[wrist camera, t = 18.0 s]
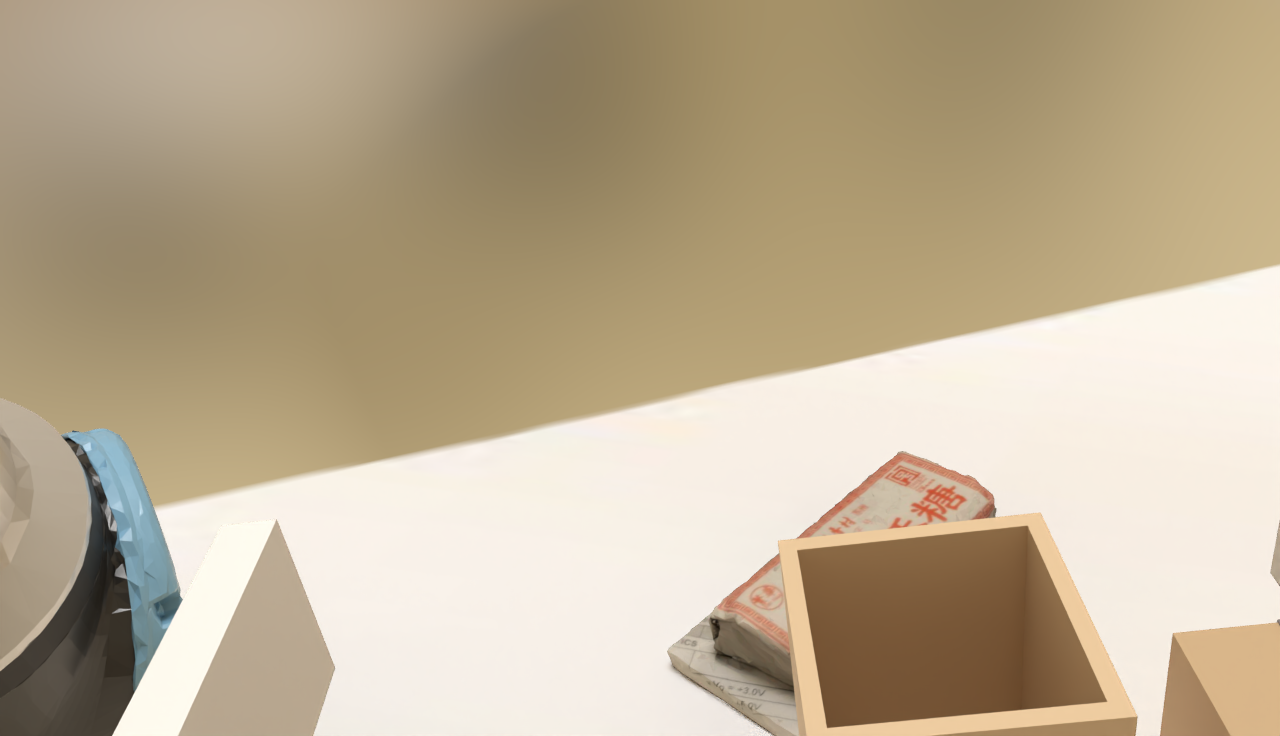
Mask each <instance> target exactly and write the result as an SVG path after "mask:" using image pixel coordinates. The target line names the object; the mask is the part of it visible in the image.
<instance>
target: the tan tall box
mask: <svg viewBox="0 0 1280 736" xmlns="http://www.w3.org/2000/svg"><path fill="white" fill-rule="evenodd" d="M778 546H779V555H780V564H781V573H782V583H783V592H784V601H785V610H786V619H787V628H788V638H789V647H790V656H791V665H792V674H793V684H794V693H795V702H796V711H797V720H798V729H799V736H1135V735H1136V726H1137V715H1136V712H1135V710H1134V708H1133V706H1132V704H1131V702H1130V700H1129V698H1128V696H1127V694H1126V691H1125V689H1124V687H1123V685H1122V683H1121V681H1120V679H1119V677H1118V675H1117V672H1116V670H1115V668H1114V666H1113V664H1112V662H1111V660H1110V658H1109V656H1108V654H1107V651H1106V649H1105V647H1104V645H1103V643H1102V641H1101V639H1100V637H1099V635H1098V632H1097V630H1096V628H1095V626H1094V624H1093V622H1092V620H1091V618H1090V616H1089V614H1088V611H1087V609H1086V607H1085V605H1084V603H1083V601H1082V599H1081V597H1080V595H1079V593H1078V590H1077V588H1076V586H1075V584H1074V582H1073V580H1072V578H1071V576H1070V574H1069V571H1068V569H1067V567H1066V565H1065V563H1064V561H1063V559H1062V557H1061V555H1060V553H1059V550H1058V548H1057V546H1056V544H1055V542H1054V540H1053V538H1052V536H1051V534H1050V531H1049V529H1048V527H1047V525H1046V523H1045V521H1044V519H1043V517H1042V515H1041V513H1032V514H1023V515H1013V516H1004V517H995V518H985V519H976V520H967V521H957V522H948V523H939V524H930V525H920V526H911V527H902V528H892V529H883V530H874V531H864V532H855V533H846V534H836V535H827V536H818V537H809V538H799V539H790V540H781V541H778Z"/></svg>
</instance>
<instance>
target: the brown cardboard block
mask: <svg viewBox="0 0 1280 736" xmlns="http://www.w3.org/2000/svg"><path fill="white" fill-rule="evenodd" d="M1277 622H1278V623H1269V624H1259V625H1249V626H1240V627H1230V628H1220V629H1210V630H1200V631H1190V632H1180V633H1173V637H1172V645H1171V653H1170V661H1169V668H1168V676H1167V684H1166V692H1165V700H1164V708H1163V716H1162V724H1161V732H1160V736H1280V619H1279V620H1277Z"/></svg>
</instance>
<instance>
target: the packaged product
mask: <svg viewBox="0 0 1280 736" xmlns="http://www.w3.org/2000/svg"><path fill="white" fill-rule="evenodd" d="M995 513H996V508H995V506H994V497H993V495H992V494H991V493H990V492H989V491H988V490H987V489H985V488H984V487H982V486H981V485H980V484H979V483H978V482H977V480H976V479H975V478H973V477H971V476H969V475H967V476H964V475H961V474H959V473H958V472H956V471H953V470H948V469H946V468H944V467H942V466H940V465H938V464H937V463H933V462H931V461H929V460H927V459H923V458H920V457H917V456H914V455H912V454H909V453H907V452H903V451H901V452H898V453H897V455H896V456H894V458H893V459H891V460H890V461H888V462H887V463H886V464H885V465H883V466H882V467H880V468H879V469H878V470H877V471H876V472H875V473H874V474H872V475H870V476H868V478H867V479H866V480H865V481H864V482H863V483H862V484H861V485H860V486H859V487H857V488H856V489H854V490H853V491H852V492H849V494H848V495H847V496H846V497H845V498H844V499H843V500H842V501H841V502H839V503H838V504H836V505H835V507H834V508H832V509H831V510H829V511H828V512H827V513H826V514H825V515H823V516H822V517H821V518H820V519H819V520H818V522H816V523H814V524H813V525H812V526H810V527H809V528H808V529H806V530H805V531H804V532H803V533H802V534H801V535H800V536H799V537H798V538H796V539H799V538H809V537H818V536H827V535H836V534H846V533H855V532H864V531H874V530H883V529H892V528H902V527H911V526H920V525H930V524H939V523H948V522H957V521H967V520H976V519H985V518H995ZM667 652H668V655H669V657H670V659H671V661H672V664H673V666H674V667H675V668H676V669H677V670H678V671H680V672H681V673H683V674H684V675H686V676H687V677H689V678H690V679H692V680H693V681H695V682H696V683H698V684H699V685H701V686H702V687H704V688H705V689H707V690H708V691H710V692H711V693H713V694H714V695H716V696H717V697H719V698H721V699H723V700H724V701H725V702H727V703H728V704H730V705H731V706H733V707H734V708H735V709H737V710H738V711H740V712H741V713H743V714H744V715H746V716H747V717H749V718H750V719H751V720H753V721H754V722H756V723H758V724H759V725H761V726H762V727H764V728H765V729H767V730H768V731H770V732H771V733H773V734H774V735H776V736H799V729H798V720H797V711H796V702H795V693H794V684H793V674H792V665H791V656H790V647H789V638H788V628H787V619H786V610H785V601H784V592H783V583H782V573H781V564H780V555H779V554H777V555H776V556H775V557H774V558H773V559H771V560H770V561H769V562H768V563H767V564H765V565H764V566H763V567H762V568H761V569H760V570H759V571H758V572H756V573H755V574H754V575H753V576H752V577H751V578H750V579H749V580H748V581H747V582H746V583H744V584H742V585H741V586H739V587H738V588H737V589H735V590H734V591H733V592H732V593H731V594H730V595H729V596H727V597H726V598H724V599H723V601H722V602H721V603H720V604H719V605H718V606H716V607H715V608H714V610H713V612H712V613H711V614H710V615H708V616H707V617H706V618H705V619H704V620H702V621H701V622H700V623H699V624H698V625H697V626H695V627H694V628H692V629H691V631H690V632H689V633H688V634H686V635H685V636H684V637H683V638H682V639H680V640H679V641H678V642H676V643H675V644H673V645H672V646H671V647H670V648H669V649H668V651H667Z"/></svg>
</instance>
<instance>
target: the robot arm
mask: <svg viewBox="0 0 1280 736" xmlns="http://www.w3.org/2000/svg"><path fill="white" fill-rule="evenodd" d="M1270 573H1271V574H1272V576H1273V577H1274V579H1275V580H1276V581H1277V583H1278V584H1279V586H1280V522H1279V528H1278V533H1277V539H1276V544H1275V550H1274V555H1273V561H1272V566H1271V572H1270ZM334 670H335V666H334V664H333V661H332V659H331V656H330V653H329V651H328V648H327V646H326V643H325V641H324V638H323V636H322V633H321V631H320V628H319V626H318V623H317V620H316V618H315V615H314V613H313V610H312V608H311V605H310V603H309V600H308V598H307V595H306V592H305V590H304V587H303V585H302V582H301V580H300V577H299V575H298V572H297V570H296V567H295V565H294V562H293V559H292V557H291V554H290V552H289V549H288V547H287V544H286V542H285V539H284V537H283V534H282V532H281V529H280V526H279V524H278V521H277V519H274V520H265V521H257V522H248V523H239V524H230V525H221V527H220V529H219V531H218V533H217V535H216V537H215V539H214V541H213V543H212V545H211V546H210V548H209V550H208V552H207V554H206V556H205V558H204V560H203V562H202V564H201V566H200V568H199V570H198V572H197V573H196V575H195V577H194V579H193V581H192V583H191V585H190V587H189V589H188V591H187V593H186V595H185V597H184V598H183V599H182V598H181V597H180V586H179V583H178V580H177V577H176V573H175V568H174V565H173V562H172V559H171V555H170V552H169V550H168V547H167V544H166V541H165V538H164V535H163V532H162V529H161V526H160V524H159V521H158V518H157V515H156V513H155V510H154V507H153V505H152V502H151V499H150V497H149V494H148V491H147V489H146V486H145V484H144V481H143V479H142V476H141V474H140V472H139V469H138V467H137V465H136V462H135V460H134V458H133V456H132V453H131V451H130V449H129V447H128V446H127V444H126V443H125V442H124V440H123V439H122V438H121V437H120V435H118V434H116V433H114V432H112V431H109V430H108V429H94V430H91V431H88V432H83V433H82V432H77V431H72V432H69V433H65V434H62V435H60V434H59V433H58V431H57V430H56V429H55V428H54V427H53V426H52V425H51V424H49V423H48V422H47V421H45V420H44V419H43V418H41V417H40V416H39V415H37V414H36V413H34V412H32V411H30V410H28V409H26V408H24V407H22V406H20V405H18V404H15V403H12V402H9V401H7V400H5V399H2V398H0V736H313V734H314V731H315V728H316V725H317V722H318V719H319V716H320V713H321V710H322V706H323V703H324V700H325V697H326V694H327V691H328V688H329V685H330V682H331V679H332V676H333V673H334Z"/></svg>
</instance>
